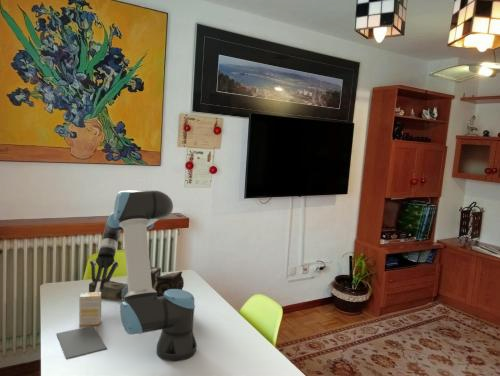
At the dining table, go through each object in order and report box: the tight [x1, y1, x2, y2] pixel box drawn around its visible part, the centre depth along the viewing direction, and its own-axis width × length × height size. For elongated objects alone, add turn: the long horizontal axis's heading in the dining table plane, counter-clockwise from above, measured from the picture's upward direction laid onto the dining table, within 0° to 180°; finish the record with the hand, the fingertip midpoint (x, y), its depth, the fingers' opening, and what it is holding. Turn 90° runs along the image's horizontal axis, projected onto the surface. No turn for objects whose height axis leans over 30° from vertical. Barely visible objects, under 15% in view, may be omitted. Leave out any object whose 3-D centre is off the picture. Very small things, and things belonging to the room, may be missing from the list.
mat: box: [56, 325, 108, 360], centre depth 147 cm, size 20×14×1 cm
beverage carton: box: [88, 278, 128, 301], centre depth 191 cm, size 8×19×7 cm, turn 77°
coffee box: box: [150, 266, 162, 291], centre depth 188 cm, size 9×6×16 cm
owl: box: [156, 270, 185, 297], centre depth 174 cm, size 13×13×20 cm
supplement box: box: [78, 291, 102, 327], centre depth 161 cm, size 8×5×13 cm, turn 102°
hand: (96, 296), depth 169 cm, fingers closed
